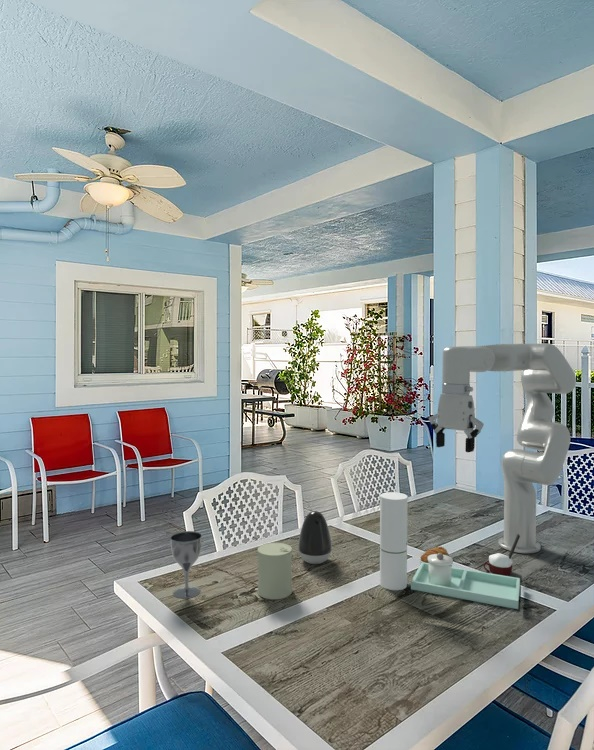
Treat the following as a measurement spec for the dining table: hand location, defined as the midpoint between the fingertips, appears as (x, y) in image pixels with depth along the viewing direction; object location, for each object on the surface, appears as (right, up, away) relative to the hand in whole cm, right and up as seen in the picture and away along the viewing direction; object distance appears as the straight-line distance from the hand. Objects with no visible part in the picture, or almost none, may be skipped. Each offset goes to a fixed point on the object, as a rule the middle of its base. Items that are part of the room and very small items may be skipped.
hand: (454, 449), depth 151 cm
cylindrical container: (-20, -36, -10) cm, 42 cm away
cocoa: (+12, -36, -3) cm, 38 cm away
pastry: (-4, -35, +8) cm, 36 cm away
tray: (-1, -36, -12) cm, 38 cm away
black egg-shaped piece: (-40, -35, +8) cm, 54 cm away
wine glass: (-75, -36, -13) cm, 84 cm away
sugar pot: (-7, -35, -9) cm, 37 cm away
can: (-51, -36, -12) cm, 64 cm away
